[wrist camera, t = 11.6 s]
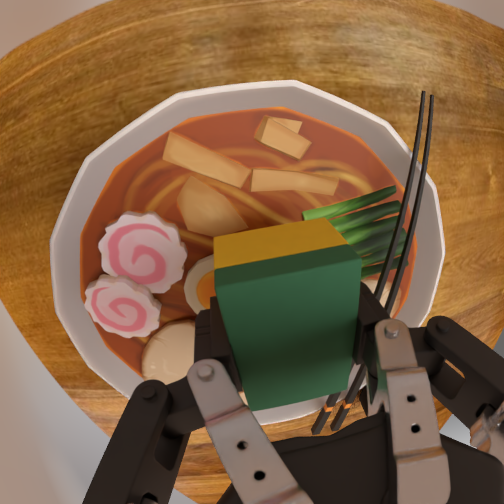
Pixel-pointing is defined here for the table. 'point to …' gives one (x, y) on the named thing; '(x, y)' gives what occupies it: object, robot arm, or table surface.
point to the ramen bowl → (235, 221)
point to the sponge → (289, 309)
